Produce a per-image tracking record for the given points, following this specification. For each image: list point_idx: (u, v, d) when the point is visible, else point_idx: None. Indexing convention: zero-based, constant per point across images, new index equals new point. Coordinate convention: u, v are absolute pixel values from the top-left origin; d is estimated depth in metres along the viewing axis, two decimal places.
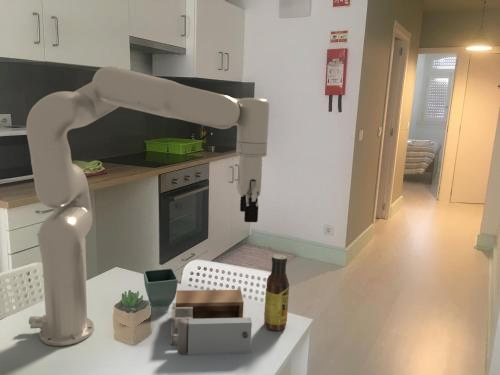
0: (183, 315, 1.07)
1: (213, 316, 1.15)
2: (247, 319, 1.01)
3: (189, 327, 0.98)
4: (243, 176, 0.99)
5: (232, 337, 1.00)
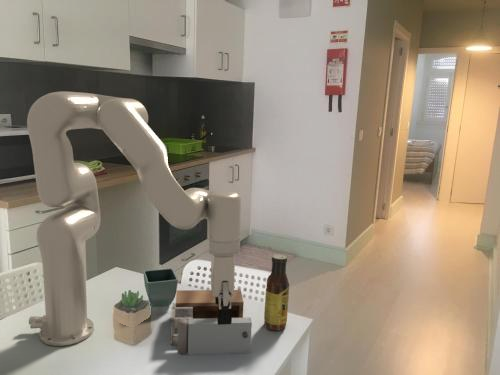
0: (183, 315, 1.07)
1: (213, 316, 1.15)
2: (247, 319, 1.01)
3: (189, 327, 0.98)
4: (214, 278, 0.92)
5: (232, 337, 1.00)
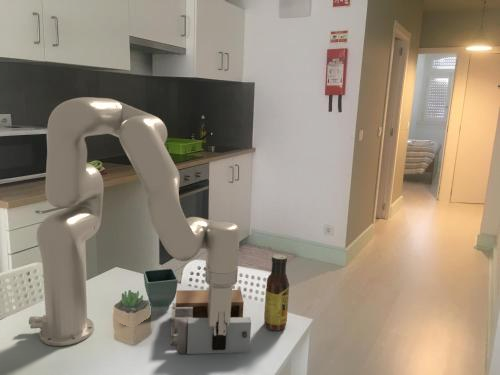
0: (183, 315, 1.07)
1: None
2: (246, 319, 1.01)
3: (188, 326, 0.98)
4: (211, 308, 0.94)
5: (231, 336, 1.00)
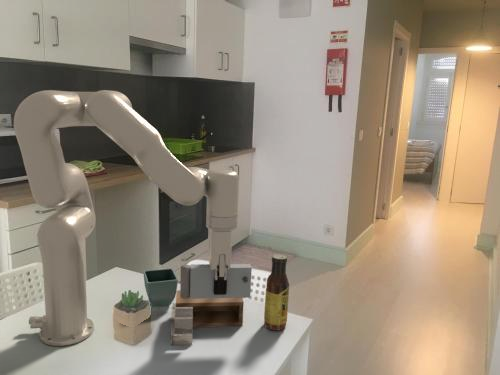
0: (183, 315, 1.07)
1: (213, 316, 1.15)
2: (247, 265, 1.05)
3: (191, 271, 1.01)
4: (212, 251, 0.97)
5: (233, 281, 1.03)
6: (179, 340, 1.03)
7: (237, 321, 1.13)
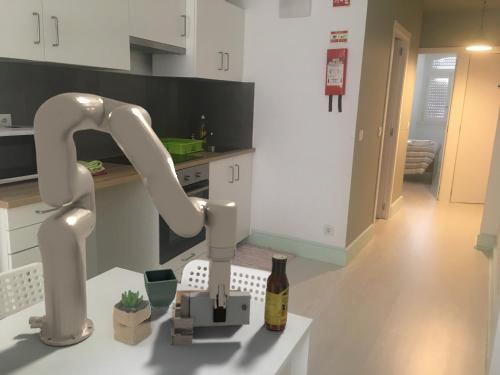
0: None
1: None
2: (246, 292, 1.06)
3: (191, 300, 1.03)
4: (211, 281, 0.99)
5: (232, 309, 1.05)
6: (179, 340, 1.03)
7: None
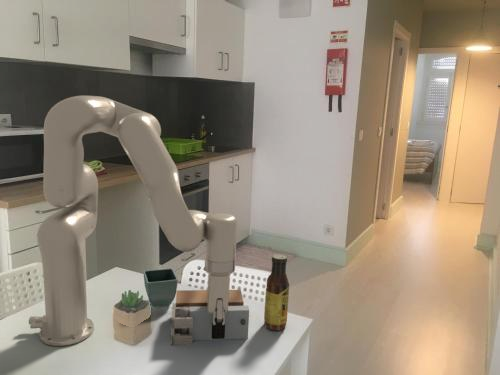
0: None
1: None
2: (245, 307, 1.07)
3: (190, 314, 1.04)
4: (210, 295, 0.99)
5: (231, 323, 1.06)
6: (179, 340, 1.03)
7: None
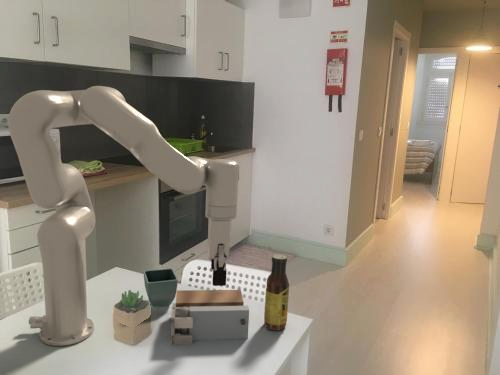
0: None
1: None
2: (245, 307, 1.07)
3: (190, 314, 1.04)
4: (211, 240, 0.97)
5: (231, 323, 1.06)
6: (179, 340, 1.03)
7: None
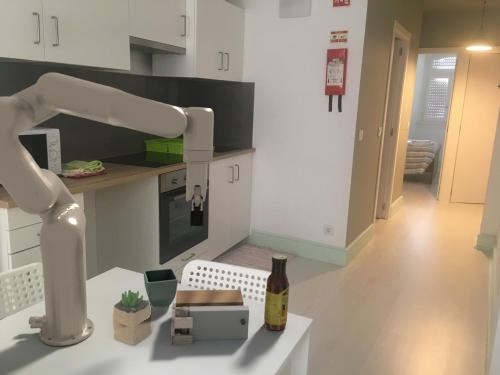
0: None
1: None
2: (245, 307, 1.07)
3: (190, 314, 1.04)
4: (188, 182, 1.03)
5: (231, 323, 1.06)
6: (179, 340, 1.03)
7: None
